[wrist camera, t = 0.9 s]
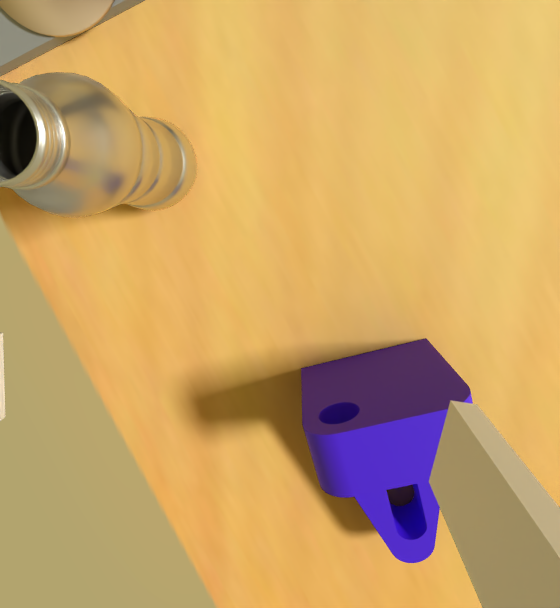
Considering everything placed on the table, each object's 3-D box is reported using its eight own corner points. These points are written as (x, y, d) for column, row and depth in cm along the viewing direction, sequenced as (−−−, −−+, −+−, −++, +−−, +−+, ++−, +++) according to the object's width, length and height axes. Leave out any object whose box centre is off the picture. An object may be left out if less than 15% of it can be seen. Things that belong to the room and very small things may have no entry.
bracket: (301, 367, 38) (302, 441, 27) (425, 337, 37) (481, 401, 26) (348, 536, 42) (366, 663, 31) (461, 514, 41) (524, 636, 30)
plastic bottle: (104, 146, 34) (-145, 85, 15) (181, 107, 34) (20, -11, 14) (143, 222, 36) (-40, 257, 16) (218, 187, 35) (117, 180, 15)
